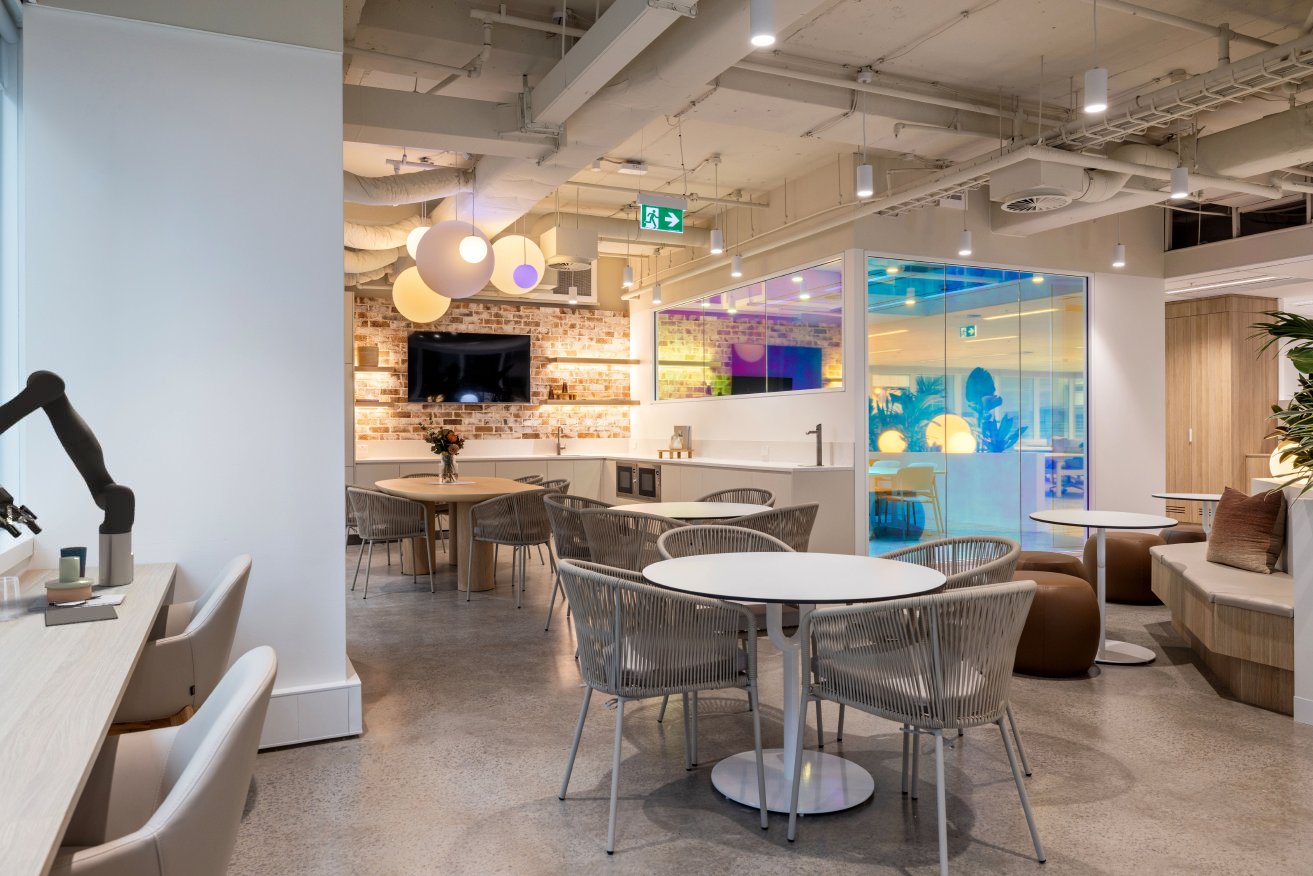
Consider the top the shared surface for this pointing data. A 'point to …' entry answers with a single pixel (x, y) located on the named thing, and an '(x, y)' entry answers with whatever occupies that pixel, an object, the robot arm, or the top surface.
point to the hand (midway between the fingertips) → (29, 534)
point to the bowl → (69, 594)
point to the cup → (76, 553)
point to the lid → (69, 575)
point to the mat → (79, 614)
